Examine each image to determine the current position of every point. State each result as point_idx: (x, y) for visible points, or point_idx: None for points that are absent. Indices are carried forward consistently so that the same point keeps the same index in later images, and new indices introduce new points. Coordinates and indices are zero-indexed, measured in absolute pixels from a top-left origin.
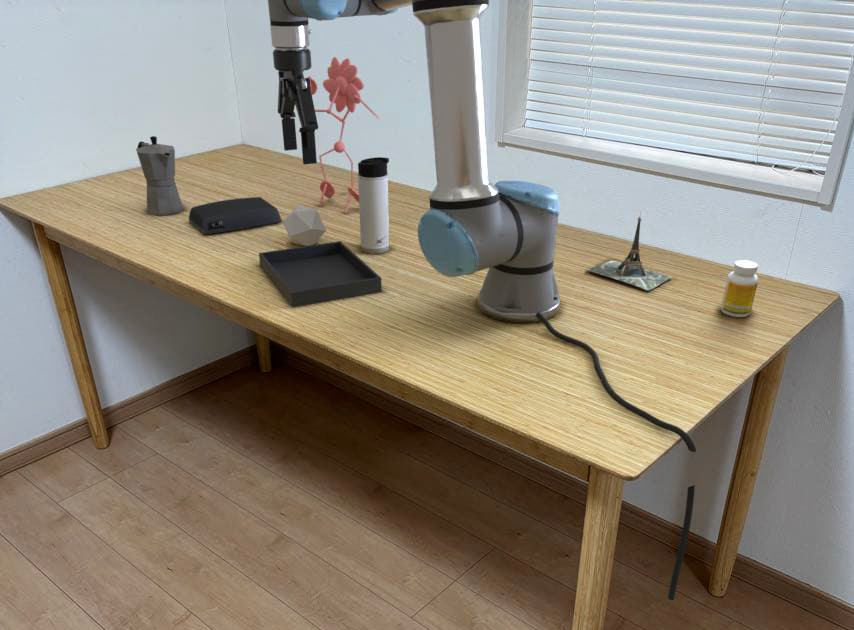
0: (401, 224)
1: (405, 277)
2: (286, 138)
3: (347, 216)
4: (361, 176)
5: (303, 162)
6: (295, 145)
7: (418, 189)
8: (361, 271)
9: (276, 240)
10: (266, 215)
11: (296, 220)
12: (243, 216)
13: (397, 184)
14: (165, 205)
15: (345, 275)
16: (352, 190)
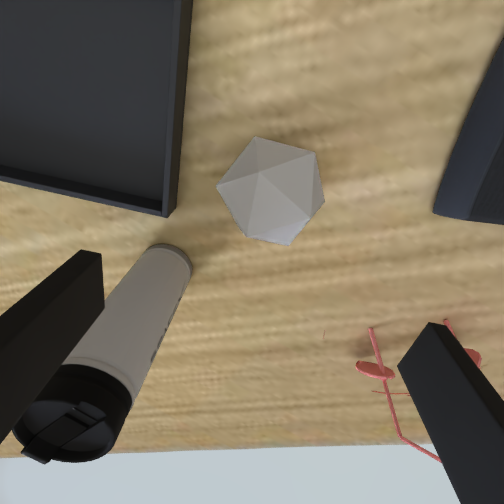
0: (254, 354)
1: (19, 230)
2: (459, 388)
3: (352, 321)
4: (71, 363)
5: (89, 256)
6: (408, 379)
7: (373, 442)
8: (40, 175)
9: (337, 136)
10: (460, 181)
11: (248, 167)
12: (499, 109)
13: (418, 440)
14: None
15: (43, 142)
16: (377, 374)
